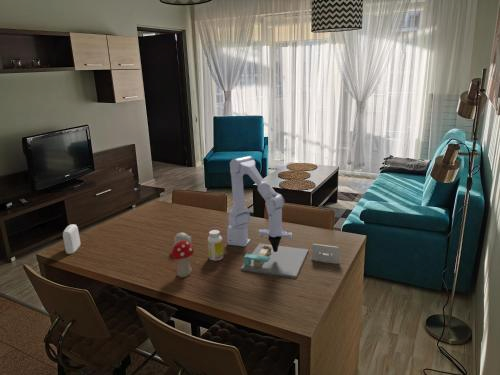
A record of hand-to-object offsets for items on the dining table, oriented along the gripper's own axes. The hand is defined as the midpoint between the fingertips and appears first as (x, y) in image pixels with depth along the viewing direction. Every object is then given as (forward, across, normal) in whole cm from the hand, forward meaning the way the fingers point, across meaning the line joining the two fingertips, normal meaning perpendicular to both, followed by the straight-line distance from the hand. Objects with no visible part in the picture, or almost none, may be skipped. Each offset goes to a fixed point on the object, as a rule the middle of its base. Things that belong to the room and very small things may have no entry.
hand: (275, 250), depth 172 cm
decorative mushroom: (+5, -34, -22) cm, 41 cm away
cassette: (+5, +21, +5) cm, 22 cm away
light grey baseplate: (+5, 0, 0) cm, 5 cm away
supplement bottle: (+5, -27, -5) cm, 28 cm away
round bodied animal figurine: (+5, -46, 0) cm, 46 cm away
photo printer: (+6, -99, -16) cm, 100 cm away
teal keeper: (+5, -6, -8) cm, 11 cm away
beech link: (+4, -6, -1) cm, 7 cm away
